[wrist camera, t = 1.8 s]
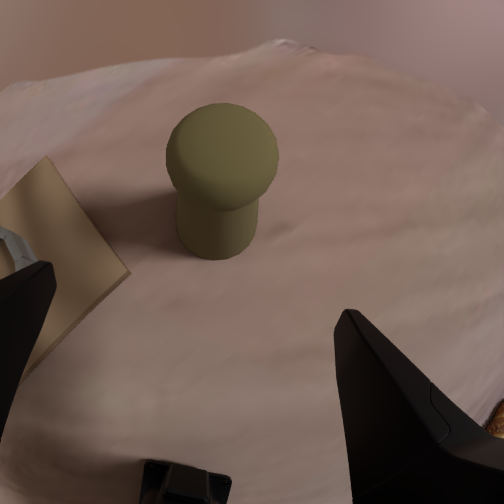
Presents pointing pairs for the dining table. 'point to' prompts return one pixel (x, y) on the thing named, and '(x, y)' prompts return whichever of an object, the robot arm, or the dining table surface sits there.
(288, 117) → the dining table surface
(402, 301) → the dining table surface
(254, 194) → the cork
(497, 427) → the pretzel
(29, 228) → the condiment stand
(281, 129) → the dining table surface
